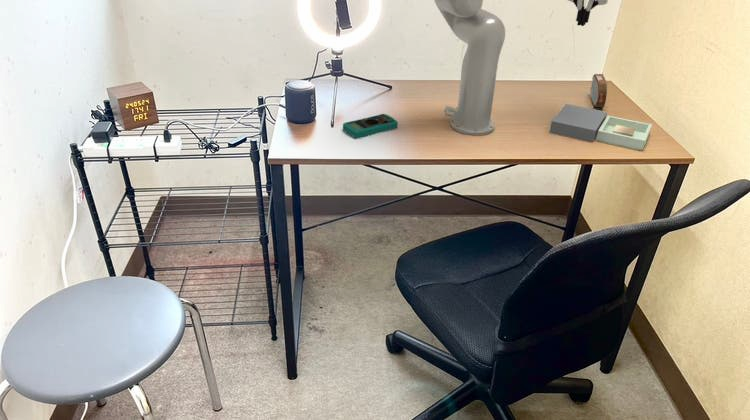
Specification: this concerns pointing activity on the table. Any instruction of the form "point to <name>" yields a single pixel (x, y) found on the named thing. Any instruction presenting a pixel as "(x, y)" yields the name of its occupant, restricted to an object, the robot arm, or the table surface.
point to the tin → (598, 90)
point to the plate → (578, 122)
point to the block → (624, 130)
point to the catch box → (633, 142)
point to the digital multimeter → (370, 125)
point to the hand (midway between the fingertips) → (581, 24)
